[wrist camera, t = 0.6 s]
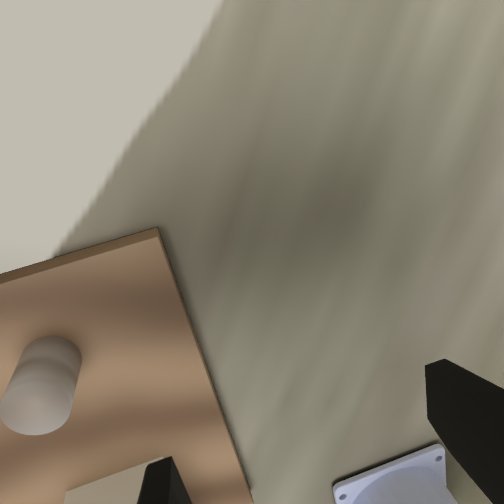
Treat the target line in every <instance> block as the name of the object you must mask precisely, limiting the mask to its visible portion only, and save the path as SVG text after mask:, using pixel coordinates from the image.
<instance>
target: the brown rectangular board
mask: <svg viewBox="0 0 504 504" xmlns="http://www.w3.org/2000/svg"><path fill="white" fill-rule="evenodd" d="M162 456H163V457H164V458H167V457H170V456H172V458H173V460H174V462H175V465H176V467H177V469H178V472H179V474H180V476H181V479H182V481H183V483H184V486H185V488H186V490H187V493H188V495H189V497H190V499H191V502H192V504H254V503H253V499H252V495H251V491H250V488H249V485H248V482H247V480H246V477H245V474H244V471H243V468H242V465H241V463H240V460H239V457H238V454H237V451H236V448H235V446H234V443H233V440H232V437H231V434H230V432H229V429H228V426H227V423H226V420H225V417H224V415H223V412H222V409H221V406H220V403H219V401H218V398H217V395H216V392H215V389H214V386H213V384H212V381H211V378H210V375H209V372H208V369H207V367H206V364H205V361H204V358H203V355H202V353H201V350H200V347H199V344H198V341H197V338H196V336H195V333H194V330H193V327H192V324H191V322H190V319H189V316H188V313H187V310H186V307H185V305H184V302H183V299H182V296H181V293H180V290H179V288H178V285H177V282H176V279H175V276H174V274H173V271H172V268H171V265H170V262H169V259H168V257H167V254H166V251H165V248H164V245H163V243H162V240H161V237H160V234H159V231H158V228H157V227H156V228H153V229H149V230H146V231H143V232H139V233H136V234H133V235H129V236H126V237H123V238H119V239H116V240H113V241H109V242H106V243H102V244H99V245H96V246H92V247H89V248H86V249H82V250H79V251H76V252H72V253H69V254H66V255H62V256H59V257H56V258H52V259H49V260H46V261H42V262H39V263H36V264H32V265H29V266H26V267H22V268H19V269H15V270H12V271H9V272H5V273H2V274H0V504H64V499H65V494H66V491H69V490H72V489H75V488H77V487H80V486H83V485H85V484H88V483H91V482H94V481H96V480H99V479H102V478H105V477H107V476H110V475H113V474H115V473H118V472H121V471H124V470H126V469H129V468H132V467H135V466H137V465H140V464H143V463H145V462H148V461H151V460H154V459H156V458H159V457H162Z"/></svg>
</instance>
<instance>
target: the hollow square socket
mask: <svg viewBox="0 0 504 504" xmlns="http://www.w3.org/2000/svg"><path fill="white" fill-rule="evenodd" d="M161 459H164V457H163V456H162V457H159V458H156V459H154V460H151V461H148V462H145V463H143V464H140V465H137V466H135V467H132V468H129V469H126V470H124V471H121V472H118V473H115V474H113V475H110V476H107V477H105V478H102V479H99V480H96V481H94V482H91V483H88V484H85V485H83V486H80V487H77V488H75V489H72V490H69V491H66V494H65V499H64V504H137V501H138V497H139V493H140V490H141V486H142V481H143V477H144V473H145V469H146V467H147V465H148V464H150V463H153V462H155V461H158V460H161Z"/></svg>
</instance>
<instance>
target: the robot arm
mask: <svg viewBox="0 0 504 504" xmlns="http://www.w3.org/2000/svg"><path fill="white" fill-rule="evenodd" d="M425 377H426V397H427V416H428V420H429V422H430V423H431V425H432V426H433V428H434V429H435V431H436V432H437V434H438V435H439V437H440V439H441V440H442V441H443V443H444V444H445V446H446V447H447V449H448V450H449V452H450V453H451V454H452V455H453V457H454V458H455V459H456V460H457V462H458V463H459V464H460V465H461V466H462V468H463V469H464V470H465V471H466V472H467V474H468V475H469V476H470V477H471V478H472V480H473V481H474V482H475V483H476V484H477V485H478V487H479V488H480V489H481V490H482V491H483V493H484V494H485V495H486V496H487V497H488V498H489V500H490V501H491V502H492V503H493V504H504V389H503V388H501V387H499V386H497V385H495V384H493V383H491V382H489V381H487V380H485V379H483V378H481V377H479V376H477V375H475V374H474V373H472V372H470V371H468V370H466V369H464V368H462V367H460V366H458V365H456V364H454V363H452V362H450V361H449V360H447V359H442V360H439V361H436V362H434V363H431V364H428V365H425ZM333 494H334V499H335V503H336V504H458V502H457V501H456V500H455V498H454V497H453V496H452V494H451V493H450V492H449V490H448V489H447V488H446V463H445V449H444V448H443V446H442V445H441V444H434V445H432V446H429V447H427V448H424V449H422V450H419V451H417V452H414V453H411V454H409V455H406V456H404V457H401V458H399V459H396V460H394V461H391V462H389V463H386V464H384V465H381V466H379V467H376V468H373V469H371V470H368V471H366V472H363V473H361V474H358V475H356V476H353V477H351V478H348V479H346V480H343V481H341V482H338V483H336V484H335V485H334V487H333ZM137 504H192V502H191V499H190V497H189V495H188V493H187V490H186V488H185V486H184V483H183V481H182V479H181V476H180V474H179V472H178V469H177V467H176V465H175V462H174V460H173V458H172V456H170V457H167V458H164V459H161V460H158V461H155V462H153V463H150V464H148V465H147V467H146V469H145V473H144V477H143V481H142V486H141V490H140V493H139V497H138V501H137Z"/></svg>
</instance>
